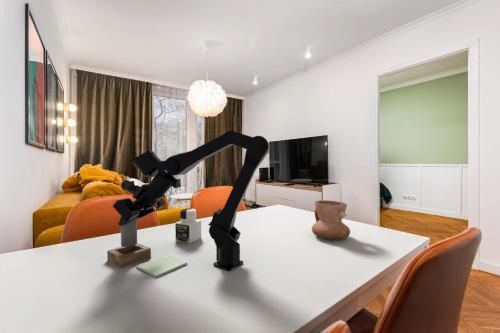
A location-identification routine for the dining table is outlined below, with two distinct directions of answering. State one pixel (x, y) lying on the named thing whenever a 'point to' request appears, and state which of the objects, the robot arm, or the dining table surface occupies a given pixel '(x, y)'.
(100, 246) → the dining table surface
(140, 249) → the walnut collar
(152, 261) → the green mat
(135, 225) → the plug
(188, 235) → the medicine bottle
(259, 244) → the dining table surface
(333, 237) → the ceramic jug
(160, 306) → the dining table surface
